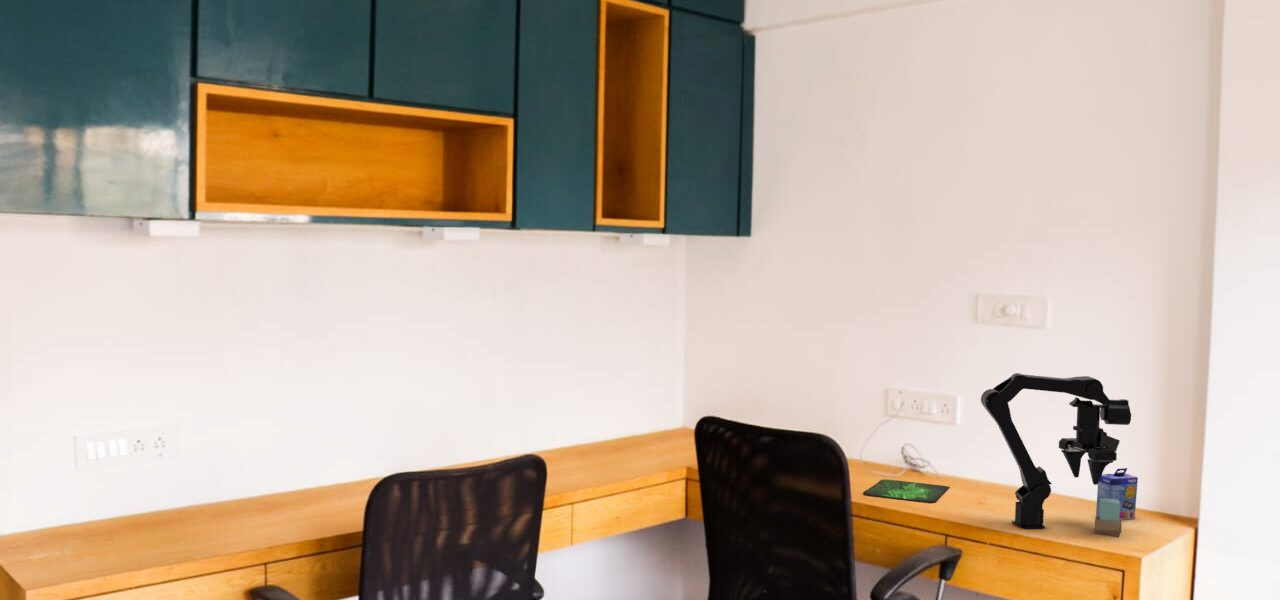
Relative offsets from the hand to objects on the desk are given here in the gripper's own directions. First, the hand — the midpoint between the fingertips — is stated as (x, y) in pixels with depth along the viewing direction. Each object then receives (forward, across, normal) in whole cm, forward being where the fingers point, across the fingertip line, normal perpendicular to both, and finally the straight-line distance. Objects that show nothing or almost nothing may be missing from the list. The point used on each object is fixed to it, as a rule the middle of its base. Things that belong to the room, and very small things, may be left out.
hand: (1085, 480), depth 296 cm
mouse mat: (+14, +48, +30) cm, 58 cm away
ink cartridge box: (+13, +10, -16) cm, 23 cm away
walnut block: (+13, -5, -4) cm, 15 cm away
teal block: (+9, -5, -4) cm, 11 cm away
